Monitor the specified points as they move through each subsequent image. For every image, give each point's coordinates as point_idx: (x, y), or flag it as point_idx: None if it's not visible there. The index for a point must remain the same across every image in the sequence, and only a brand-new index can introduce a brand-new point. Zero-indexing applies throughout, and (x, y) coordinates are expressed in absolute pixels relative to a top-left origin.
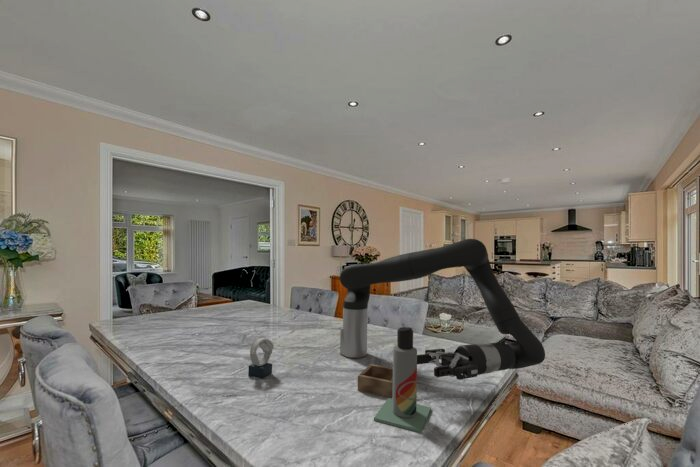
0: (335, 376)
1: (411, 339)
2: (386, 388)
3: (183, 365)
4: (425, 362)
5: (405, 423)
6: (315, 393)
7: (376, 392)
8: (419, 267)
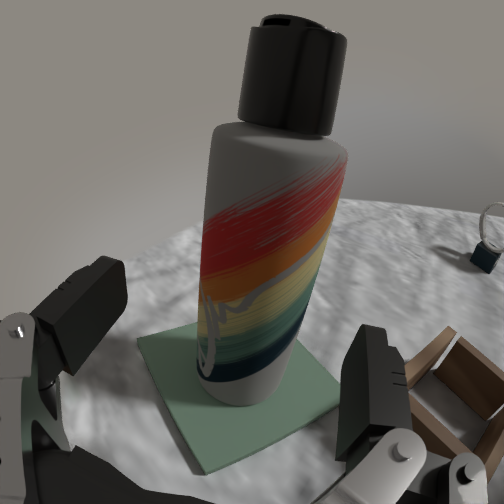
0: (497, 348)
1: (244, 68)
2: None
3: (490, 229)
4: (339, 428)
5: (189, 334)
6: (418, 288)
7: None
8: None
